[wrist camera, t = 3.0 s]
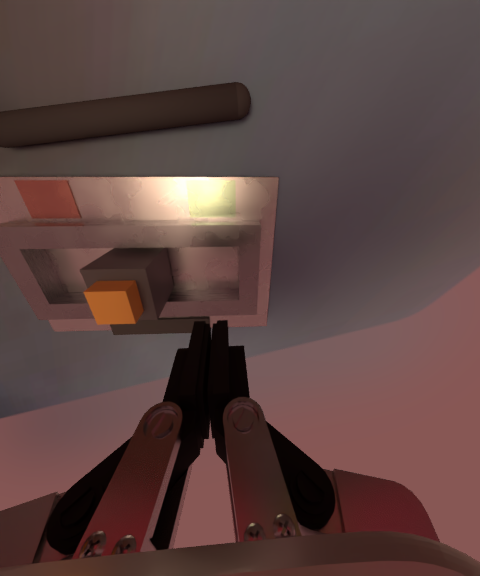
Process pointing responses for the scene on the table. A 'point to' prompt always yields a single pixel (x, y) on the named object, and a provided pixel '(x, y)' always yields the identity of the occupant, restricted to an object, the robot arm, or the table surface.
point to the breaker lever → (128, 285)
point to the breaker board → (160, 207)
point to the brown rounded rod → (124, 114)
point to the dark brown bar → (158, 326)
